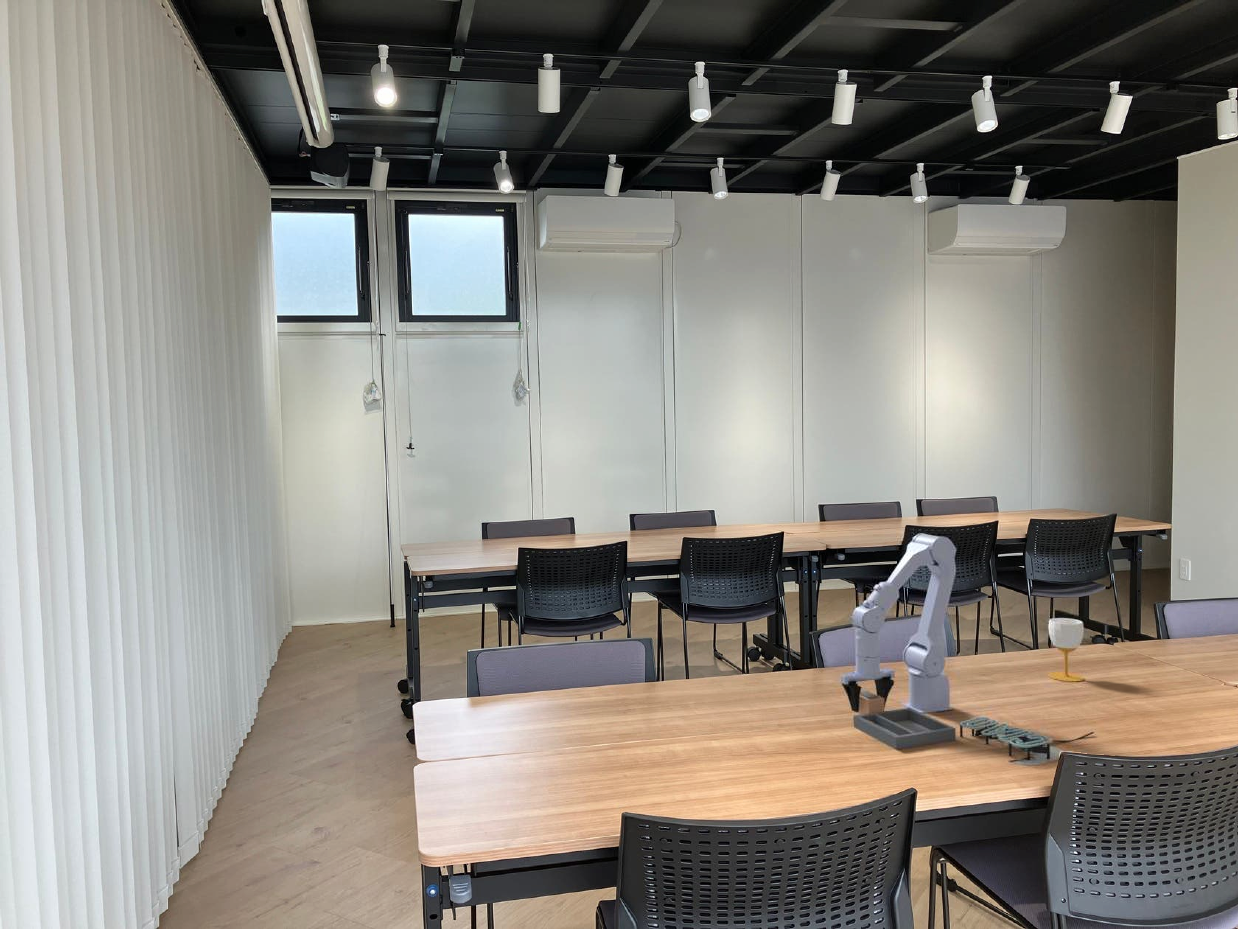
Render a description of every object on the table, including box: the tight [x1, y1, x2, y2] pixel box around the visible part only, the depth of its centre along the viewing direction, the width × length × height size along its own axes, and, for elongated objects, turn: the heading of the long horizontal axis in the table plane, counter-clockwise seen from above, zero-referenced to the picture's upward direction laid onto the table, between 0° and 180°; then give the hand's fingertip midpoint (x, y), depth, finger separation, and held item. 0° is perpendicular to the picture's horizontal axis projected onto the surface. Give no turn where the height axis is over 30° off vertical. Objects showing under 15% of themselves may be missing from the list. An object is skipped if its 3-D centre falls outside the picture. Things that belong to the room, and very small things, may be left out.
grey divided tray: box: [853, 707, 957, 750], centre depth 197 cm, size 16×16×3 cm
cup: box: [1047, 617, 1085, 683], centre depth 240 cm, size 9×9×16 cm
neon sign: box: [959, 716, 1095, 766], centre depth 192 cm, size 21×4×29 cm
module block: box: [855, 690, 885, 715], centre depth 212 cm, size 4×7×5 cm, turn 19°
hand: (868, 709), depth 212 cm, fingers open, 7 cm apart
